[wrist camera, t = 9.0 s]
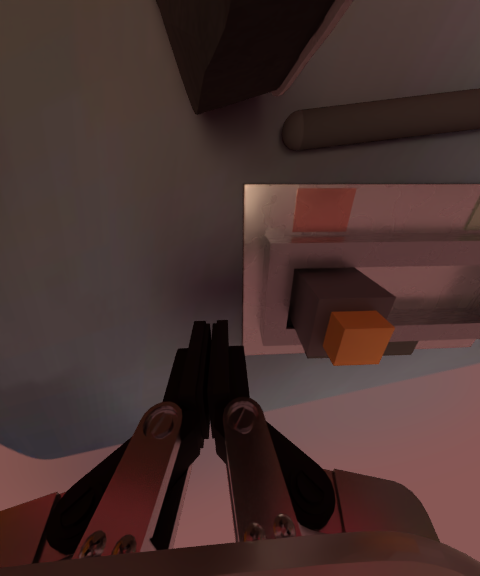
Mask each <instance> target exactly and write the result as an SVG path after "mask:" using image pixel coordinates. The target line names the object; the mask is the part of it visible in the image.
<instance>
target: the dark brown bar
mask: <svg viewBox="0 0 480 576" xmlns="http://www.w3.org/2000/svg"><path fill="white" fill-rule="evenodd" d="M417 343H418V341H399V342H389V343H388V345H387V347H386V349H385V351H384V353H383V356H386V355H411V354H412V352H413V351H414V349H415V347H416V345H417ZM307 358H329V357H328V356H309V357H307Z"/></svg>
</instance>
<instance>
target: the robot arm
mask: <svg viewBox="0 0 480 576" xmlns="http://www.w3.org/2000/svg"><path fill="white" fill-rule="evenodd" d="M210 422H211V431H212V438H215V445H216V453H217V455H218V456H219V457H220V458H221V459H222V460H223V461H224V463H225V464H226V470H227V478H228V486H229V494H230V501H231V510H232V518H233V525H234V533H235V541H236V543H225V544H216V545H206V546H196V547H187V548H176V549H173V545H174V542H175V537H176V533H177V529H178V525H179V520H180V516H181V512H182V508H183V503H184V499H185V495H186V491H187V486H188V482H189V478H190V474H191V469H192V463H193V462H194V460H195V459H196V458H197V457H198V456H199V455H200V448H203V445H204V439H208V438H209V427H210ZM0 576H480V562H478V561H477V560H475V559H473V558H472V557H470V556H468V555H467V554H465V553H463V552H460V551H458V550H456V549H454V548H452V547H450V546H448V545H446V544H443V543H440V541H439V539H438V536H437V534H436V532H435V529H434V527H433V525H432V523H431V520H430V518H429V516H428V514H427V512H426V510H425V508H424V507H423V505H422V503H421V502H420V501H419V499H418V498H417V497H416V496H415V495H414V494H413V492H411V491H410V490H408V489H407V488H406V487H405V486H403V485H402V484H399V483H397V482H394V481H390V480H385V479H380V478H376V477H371V476H367V475H362V474H357V473H352V472H347V471H343V470H337V469H334V470H333V471H330V470H326V469H322V468H321V467H320V466H319V465H318V464H317V463H316V462H314V461H313V460H312V459H311V458H310V457H308V456H307V455H306V454H305V453H304V452H303V451H301V450H300V449H299V448H298V447H297V446H295V445H294V444H293V443H292V442H291V441H289V440H288V439H287V438H286V437H285V436H283V435H282V434H281V433H280V432H278V431H277V430H276V429H275V428H274V427H273V426H271V425H270V424H269V423H268V422H267V421H266V420H265V417H264V414H263V411H262V409H261V407H260V405H259V404H258V403H257V402H256V401H254V400H253V399H251V398H250V396H249V387H248V379H247V370H246V361H245V352H244V346H229V343H228V320H217V323H213V328H212V340H211V330H210V324H206V321H195V322H194V325H193V330H192V334H191V339H190V343H189V348H182V349H178V350H177V353H176V356H175V360H174V363H173V367H172V371H171V374H170V378H169V381H168V385H167V388H166V392H165V395H164V399H163V402H161V403H158V404H156V405H154V406H153V407H151V408H150V409H149V410H148V411H147V412H146V413H145V414H144V415H143V417H142V419H141V420H140V422H139V424H138V426H137V428H136V430H135V432H134V434H133V436H132V437H131V438H130V439H129V440H127V441H126V442H125V443H124V444H123V445H121V446H120V447H119V448H118V449H117V450H115V451H114V452H113V453H112V454H110V455H109V456H108V457H107V458H106V459H104V460H103V461H102V462H101V463H100V464H98V465H97V466H96V467H95V468H94V469H92V470H91V471H90V472H89V473H88V474H86V475H85V476H84V477H83V478H81V479H80V480H79V481H78V482H77V483H75V484H74V485H73V486H72V487H71V488H70V489H69V490H68V491H67V492H64V493H61V494H59V493H58V492H55V493H52V494H49V495H46V496H43V497H40V498H37V499H34V500H32V501H29V502H26V503H23V504H20V505H17V506H14V507H11V508H8V509H5V510H2V511H0Z"/></svg>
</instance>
